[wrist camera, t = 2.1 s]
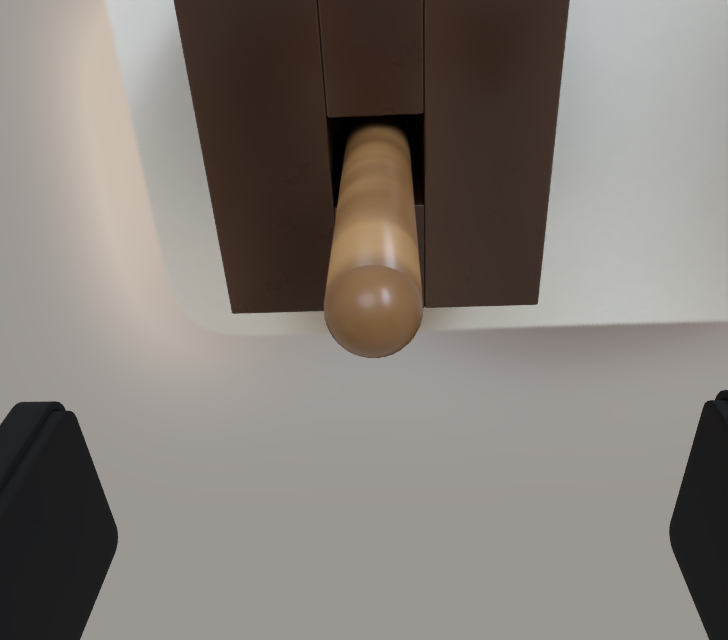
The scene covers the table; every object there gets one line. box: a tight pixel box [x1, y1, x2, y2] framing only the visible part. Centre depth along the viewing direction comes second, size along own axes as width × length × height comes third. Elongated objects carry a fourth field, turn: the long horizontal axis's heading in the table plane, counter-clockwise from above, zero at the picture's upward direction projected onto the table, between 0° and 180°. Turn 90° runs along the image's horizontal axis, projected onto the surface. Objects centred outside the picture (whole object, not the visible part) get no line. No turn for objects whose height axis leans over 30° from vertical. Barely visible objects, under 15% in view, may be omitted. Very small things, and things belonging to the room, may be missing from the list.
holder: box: [174, 0, 570, 314], centre depth 23 cm, size 10×10×7 cm
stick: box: [324, 114, 423, 358], centre depth 20 cm, size 2×2×16 cm
